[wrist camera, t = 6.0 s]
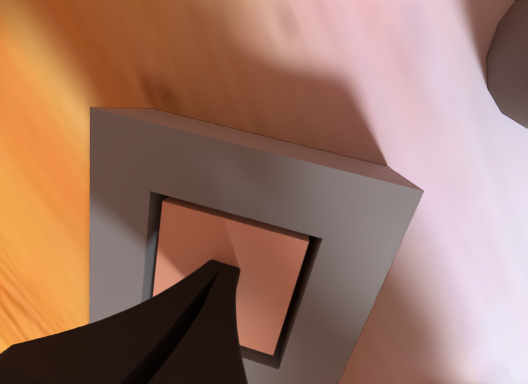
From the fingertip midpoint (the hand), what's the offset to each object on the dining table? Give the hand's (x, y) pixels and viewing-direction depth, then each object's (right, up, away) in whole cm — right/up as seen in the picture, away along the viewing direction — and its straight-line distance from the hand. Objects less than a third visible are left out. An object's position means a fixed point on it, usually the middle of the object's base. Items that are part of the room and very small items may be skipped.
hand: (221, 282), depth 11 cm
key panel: (0, -4, +5) cm, 6 cm away
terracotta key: (+1, +1, +3) cm, 3 cm away
